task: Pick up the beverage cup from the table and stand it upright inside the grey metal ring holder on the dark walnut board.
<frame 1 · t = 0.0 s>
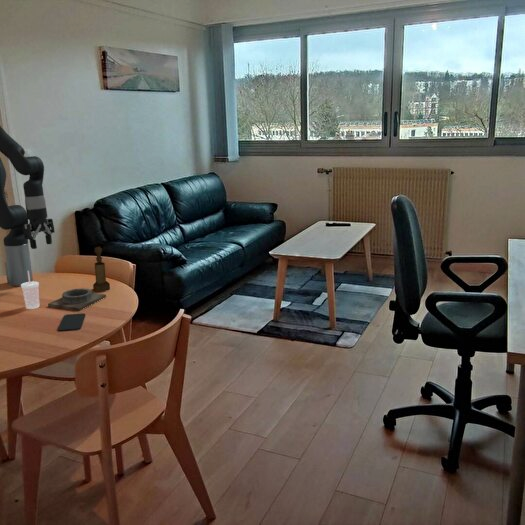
hand: (41, 246, 215), 17 cm above the table, tool pointing down, fingers open, 8 cm apart
ring holder: (78, 302, 200), on the table
pepper mill: (101, 289, 215), on the table
phone: (72, 323, 180), on the table
beverage cup: (32, 307, 195), on the table
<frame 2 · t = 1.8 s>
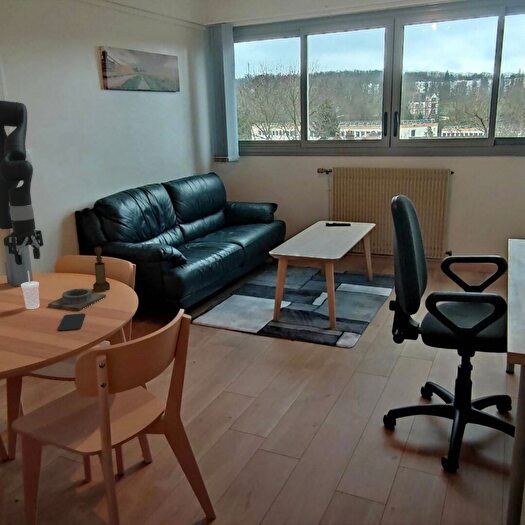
hand: (28, 261, 190), 17 cm above the table, tool pointing down, fingers open, 8 cm apart
nothing on the table moved.
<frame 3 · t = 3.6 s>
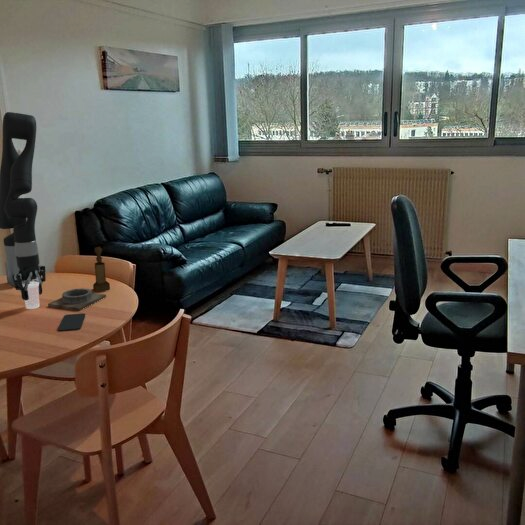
hand: (32, 296, 194), 4 cm above the table, tool pointing down, fingers closed on beverage cup, 6 cm apart
beverage cup: (32, 307, 195), on the table, touching gripper
everything else where it was.
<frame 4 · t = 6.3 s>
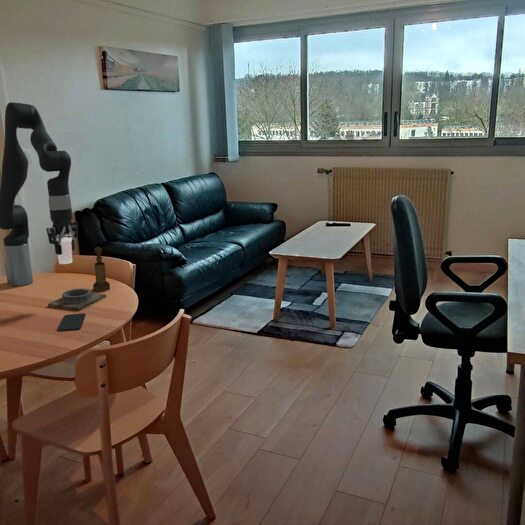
hand: (65, 252, 193), 20 cm above the table, tool pointing down, fingers closed on beverage cup, 6 cm apart
beverage cup: (65, 263, 195), point 16 cm above the table, touching gripper
everything else where it was.
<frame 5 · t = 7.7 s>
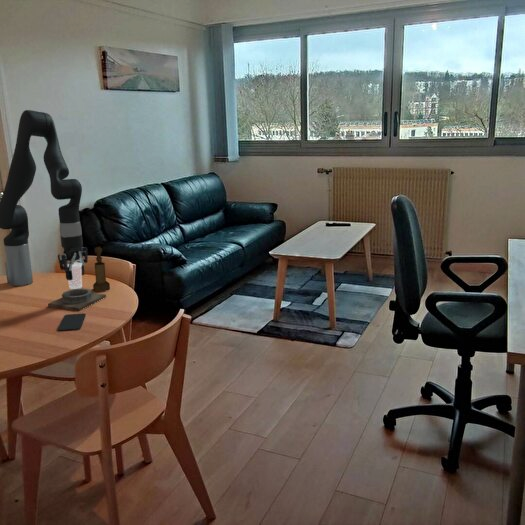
hand: (75, 277, 197), 10 cm above the table, tool pointing down, fingers closed on beverage cup, 6 cm apart
beverage cup: (75, 287, 199), point 6 cm above the table, touching gripper
everything else where it was.
when the fingers open (6 cm above the table, at t = 9.0 s): beverage cup drops 1 cm, resting on ring holder.
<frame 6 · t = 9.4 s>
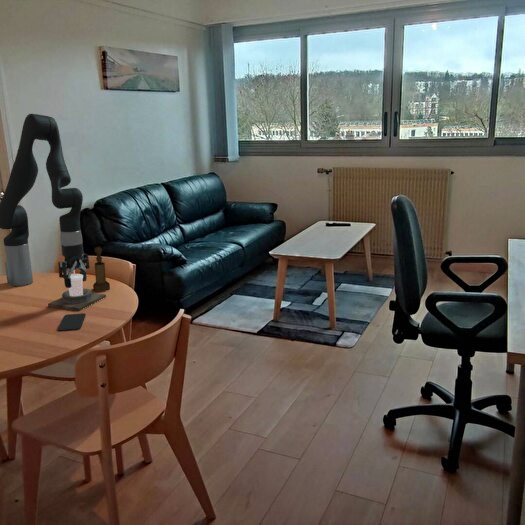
hand: (76, 284, 198), 7 cm above the table, tool pointing down, fingers open, 8 cm apart
beverage cup: (76, 299, 200), point 1 cm above the table, touching ring holder
everything else where it was.
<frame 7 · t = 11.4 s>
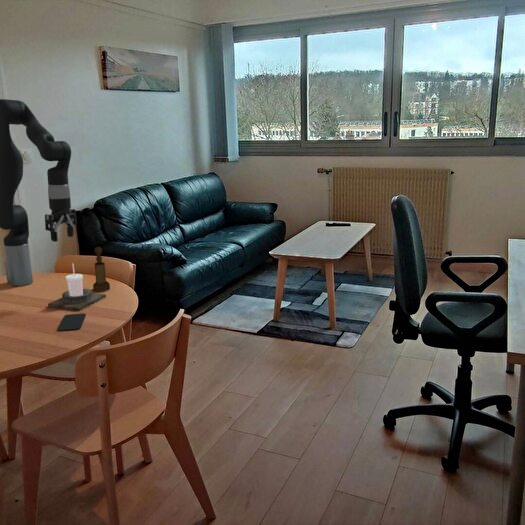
hand: (62, 238, 198), 24 cm above the table, tool pointing down, fingers open, 8 cm apart
nothing on the table moved.
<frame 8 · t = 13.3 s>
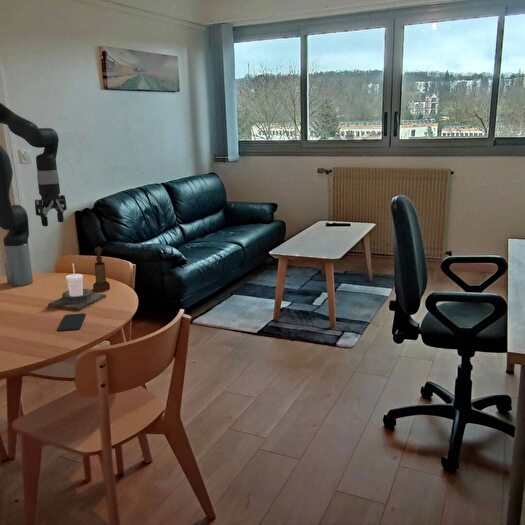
hand: (53, 224, 203), 28 cm above the table, tool pointing down, fingers open, 8 cm apart
nothing on the table moved.
at the end: beverage cup 0.6 cm off-centre on the ring holder, point 1.0 cm above the ring holder's base; beverage cup tilted 0°; the gripper is holding nothing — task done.
